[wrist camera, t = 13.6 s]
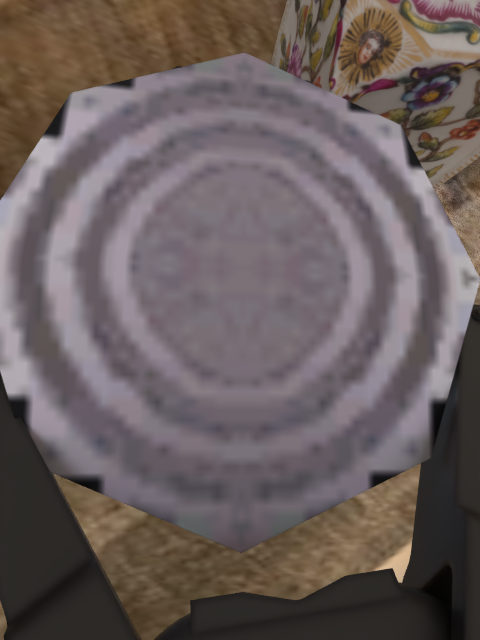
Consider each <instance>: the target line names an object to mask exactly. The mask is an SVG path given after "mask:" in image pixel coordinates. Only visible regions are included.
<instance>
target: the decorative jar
mask: <svg viewBox="0 0 480 640" xmlns="http://www.w3.org/2000/svg"><path fill="white" fill-rule="evenodd" d="M271 65H273V66H275V67H277V68H279V69H281V70H283V71H285V72H288V73H290V74H292V75H294V76H296V77H298V78H300V79H303V80H307V81H310V82H311V83H312V84H314V85H316V86H318V87H320V88H322V89H324V90H326V91H328V92H331V93H333V94H335V95H337V96H339V97H341V98H343V99H346V100H348V101H350V102H352V103H354V104H356V105H359V106H361V107H363V108H365V109H367V110H369V111H371V112H374V113H376V114H378V115H380V116H382V117H384V118H387V119H389V120H391V121H393V122H395V123H397V124H399V125H401V126H402V128H403V130H404V132H405V134H406V136H407V138H408V140H409V142H410V144H411V146H412V148H413V150H414V152H415V154H416V155H417V157H418V159H419V161H420V163H421V165H422V167H423V169H424V171H425V173H426V175H427V177H428V179H429V181H430V183H431V185H432V186H433V188H434V190H435V189H436V188H437V187H439V186H440V185H442V184H443V183H445V182H446V181H447V180H449V179H450V178H451V177H453V176H454V175H456V174H457V173H458V172H460V171H461V170H463V169H464V168H465V167H466V166H468V165H469V164H471V163H472V162H473V161H474V160H476V159H478V158H479V157H480V0H287V3H286V8H285V10H284V14H283V17H282V21H281V25H280V29H279V33H278V38H277V41H276V45H275V49H274V53H273V58H272V61H271Z"/></svg>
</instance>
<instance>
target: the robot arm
mask: <svg viewBox="0 0 480 640" xmlns="http://www.w3.org/2000/svg"><path fill="white" fill-rule="evenodd" d="M0 601H1V604H2V607H3V610H4V613H5V616H6V620H7V629H6V632H5V634H4V640H141V638H140V636H139V634H138V632H137V630H136V629H135V627H134V625H133V623H132V621H131V619H130V618H129V616H128V614H127V612H126V610H125V608H124V607H123V605H122V603H121V601H120V599H119V597H118V595H117V594H116V592H115V590H114V588H113V586H112V584H111V582H110V580H109V579H108V577H107V575H106V573H105V571H104V569H103V567H102V565H101V564H100V562H99V560H98V558H97V556H96V554H95V552H94V550H93V549H92V547H91V545H90V543H89V541H88V539H87V537H86V535H85V534H84V532H83V530H82V528H81V526H80V524H79V522H78V520H77V519H76V517H75V515H74V513H73V511H72V509H71V507H70V505H69V504H68V502H67V500H66V498H65V496H64V494H63V492H62V490H61V489H60V487H59V485H58V483H57V481H56V479H55V477H54V475H53V474H52V473H51V472H50V470H49V468H48V467H47V465H46V463H45V461H44V459H43V457H42V455H41V454H40V452H39V450H38V448H37V446H36V444H35V443H34V441H33V439H32V437H31V435H30V433H29V432H28V430H27V428H26V426H25V424H24V422H23V420H22V419H21V418H14V415H13V412H12V409H11V405H10V402H9V399H8V395H7V392H6V389H5V385H4V382H3V378H2V375H1V372H0ZM190 605H191V613H190V614H188V615H186V616H184V617H182V618H180V619H179V620H177V621H176V622H174V623H173V624H171V625H170V626H169V627H167V628H166V629H165V630H164V631H163V632H162V633H161V634H159V635H158V636H157V637H156V638H155V639H154V640H480V305H476V304H475V305H473V307H472V311H471V315H470V318H469V322H468V326H467V329H466V333H465V336H464V340H463V344H462V347H461V351H460V355H459V358H458V362H457V366H456V369H455V373H454V376H453V380H452V384H451V387H450V391H449V395H448V398H447V402H446V406H445V409H444V413H443V416H442V420H441V424H440V427H439V431H438V435H437V438H436V442H435V446H434V449H433V453H432V456H431V458H430V459H428V460H426V461H424V462H422V463H421V469H420V478H419V487H418V495H417V504H416V513H415V522H414V531H413V539H412V548H411V555H410V561H409V564H408V567H407V569H406V572H405V575H404V578H403V582H402V583H399V582H398V581H397V578H396V576H395V573H394V571H393V569H392V568H391V569H385V570H378V571H372V572H366V573H360V574H353V575H347V576H344V577H342V578H340V579H339V580H337V581H335V582H333V583H331V584H329V585H327V586H326V587H324V588H322V589H320V590H318V591H316V592H314V593H312V594H311V595H309V596H307V597H305V598H303V599H300V600H289V599H283V598H277V597H270V596H264V595H257V594H251V593H245V592H240V593H234V594H228V595H222V596H215V597H209V598H203V599H196V600H190Z"/></svg>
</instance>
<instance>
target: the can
mask: <svg viewBox="0 0 480 640" xmlns="http://www.w3.org/2000/svg"><path fill="white" fill-rule="evenodd" d="M479 282H480V278H479V276H478V274H477V272H476V270H475V268H474V266H473V264H472V262H471V260H470V258H469V256H468V254H467V252H466V250H465V249H464V247H463V245H462V243H461V241H460V239H459V237H458V235H457V233H456V231H455V229H454V227H453V225H452V223H451V221H450V219H449V217H448V216H447V214H446V212H445V210H444V208H443V206H442V204H441V202H440V200H439V198H438V196H437V194H436V192H435V190H434V188H433V186H432V185H431V183H430V181H429V179H428V177H427V175H426V173H425V171H424V169H423V167H422V165H421V163H420V161H419V159H418V157H417V155H416V154H415V152H414V150H413V148H412V146H411V144H410V142H409V140H408V138H407V136H406V134H405V132H404V130H403V128H402V126H401V125H399V124H397V123H395V122H393V121H391V120H389V119H387V118H384V117H382V116H380V115H378V114H376V113H374V112H371V111H369V110H367V109H365V108H363V107H361V106H359V105H356V104H354V103H352V102H350V101H348V100H346V99H343V98H341V97H339V96H337V95H335V94H333V93H331V92H328V91H326V90H324V89H322V88H320V87H318V86H316V85H314V84H312V83H311V82H310V81H307V80H303V79H300V78H298V77H296V76H294V75H292V74H290V73H288V72H285V71H283V70H281V69H279V68H277V67H275V66H273V65H270V64H268V63H266V62H264V61H262V60H260V59H257V58H255V57H253V56H251V55H249V54H247V53H241V54H237V55H232V56H228V57H224V58H219V59H215V60H211V61H207V62H202V63H198V64H194V65H189V66H185V67H179V66H177V67H176V68H174V69H172V70H168V71H163V72H159V73H155V74H150V75H146V76H142V77H137V78H133V79H129V80H125V81H120V82H116V83H112V84H107V85H103V86H99V87H94V88H90V89H86V90H81V91H77V92H73V93H71V94H70V95H69V97H68V98H67V100H66V101H65V103H64V104H63V106H62V108H61V109H60V111H59V112H58V114H57V115H56V117H55V118H54V120H53V121H52V123H51V124H50V126H49V127H48V129H47V130H46V132H45V133H44V135H43V136H42V138H41V139H40V141H39V143H38V144H37V146H36V147H35V149H34V150H33V152H32V153H31V155H30V156H29V158H28V159H27V161H26V162H25V164H24V165H23V167H22V168H21V170H20V171H19V173H18V175H17V176H16V178H15V179H14V181H13V182H12V184H11V185H10V187H9V188H8V190H7V191H6V193H5V194H4V196H3V197H2V199H1V200H0V372H1V375H2V378H3V382H4V385H5V389H6V392H7V395H8V399H9V402H10V405H11V409H12V412H13V415H14V418H21V419H22V420H23V422H24V424H25V426H26V428H27V430H28V432H29V433H30V435H31V437H32V439H33V441H34V443H35V444H36V446H37V448H38V450H39V452H40V454H41V455H42V457H43V459H44V461H45V463H46V465H47V467H48V468H49V470H50V472H51V473H54V474H56V475H59V476H61V477H63V478H66V479H68V480H70V481H73V482H75V483H77V484H80V485H82V486H85V487H87V488H89V489H92V490H94V491H96V492H99V493H101V494H103V495H106V496H108V497H110V498H113V499H115V500H118V501H120V502H122V503H125V504H127V505H129V506H132V507H134V508H136V509H139V510H141V511H144V512H146V513H148V514H151V515H153V516H155V517H158V518H160V519H162V520H165V521H167V522H169V523H172V524H174V525H177V526H179V527H181V528H184V529H186V530H188V531H191V532H193V533H195V534H198V535H200V536H203V537H205V538H207V539H210V540H212V541H214V542H217V543H219V544H221V545H224V546H226V547H229V548H231V549H233V550H236V551H238V552H240V553H242V552H244V551H246V550H248V549H250V548H252V547H254V546H256V545H258V544H260V543H262V542H264V541H266V540H268V539H270V538H272V537H274V536H276V535H278V534H280V533H282V532H284V531H286V530H288V529H290V528H292V527H294V526H296V525H298V524H300V523H302V522H304V521H306V520H308V519H310V518H312V517H314V516H316V515H318V514H320V513H322V512H324V511H326V510H328V509H330V508H332V507H334V506H336V505H338V504H340V503H342V502H344V501H346V500H348V499H350V498H352V497H354V496H356V495H358V494H360V493H362V492H364V491H366V490H368V489H370V488H372V487H374V486H376V485H378V484H380V483H382V482H384V481H386V480H388V479H390V478H392V477H394V476H396V475H398V474H400V473H402V472H404V471H406V470H408V469H410V468H412V467H414V466H416V465H418V464H420V463H422V462H424V461H426V460H428V459H430V458H431V456H432V453H433V449H434V446H435V442H436V438H437V435H438V431H439V427H440V424H441V420H442V416H443V413H444V409H445V406H446V402H447V398H448V395H449V391H450V387H451V384H452V380H453V376H454V373H455V369H456V366H457V362H458V358H459V355H460V351H461V347H462V344H463V340H464V336H465V333H466V329H467V326H468V322H469V318H470V315H471V311H472V307H473V304H474V300H475V296H476V293H477V289H478V286H479Z"/></svg>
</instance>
